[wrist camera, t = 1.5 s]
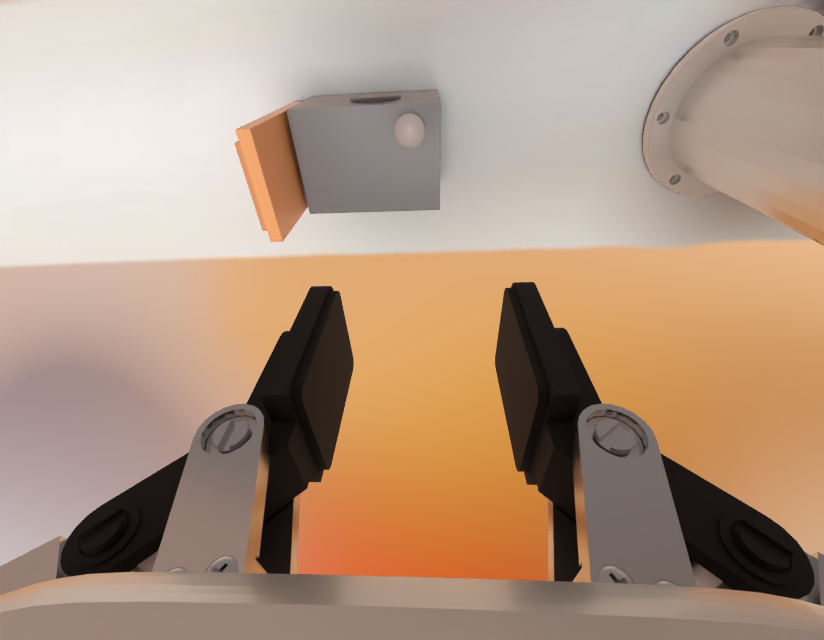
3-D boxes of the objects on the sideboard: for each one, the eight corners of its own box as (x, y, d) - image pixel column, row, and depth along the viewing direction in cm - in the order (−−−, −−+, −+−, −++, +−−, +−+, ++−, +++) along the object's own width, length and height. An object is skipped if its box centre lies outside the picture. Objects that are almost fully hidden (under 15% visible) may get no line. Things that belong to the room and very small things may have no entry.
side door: (306, 100, 28) (249, 129, 19) (323, 184, 32) (282, 241, 23) (292, 100, 28) (228, 129, 19) (310, 185, 32) (264, 241, 23)
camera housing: (437, 87, 28) (440, 100, 22) (437, 180, 32) (440, 212, 27) (312, 93, 29) (282, 108, 23) (329, 184, 33) (308, 216, 27)
